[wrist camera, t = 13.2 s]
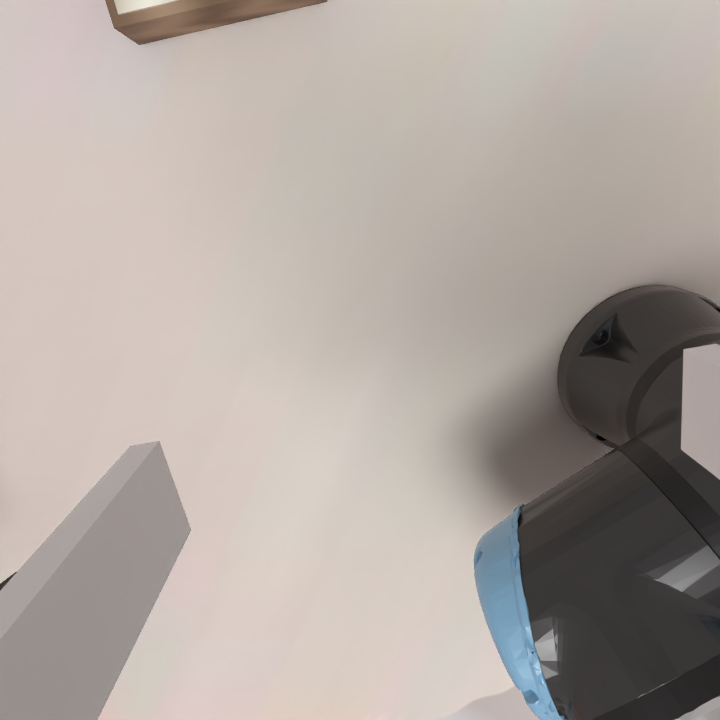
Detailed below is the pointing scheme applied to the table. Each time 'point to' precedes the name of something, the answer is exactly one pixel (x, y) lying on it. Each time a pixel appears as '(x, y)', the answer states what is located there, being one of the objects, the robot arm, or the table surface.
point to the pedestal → (188, 15)
